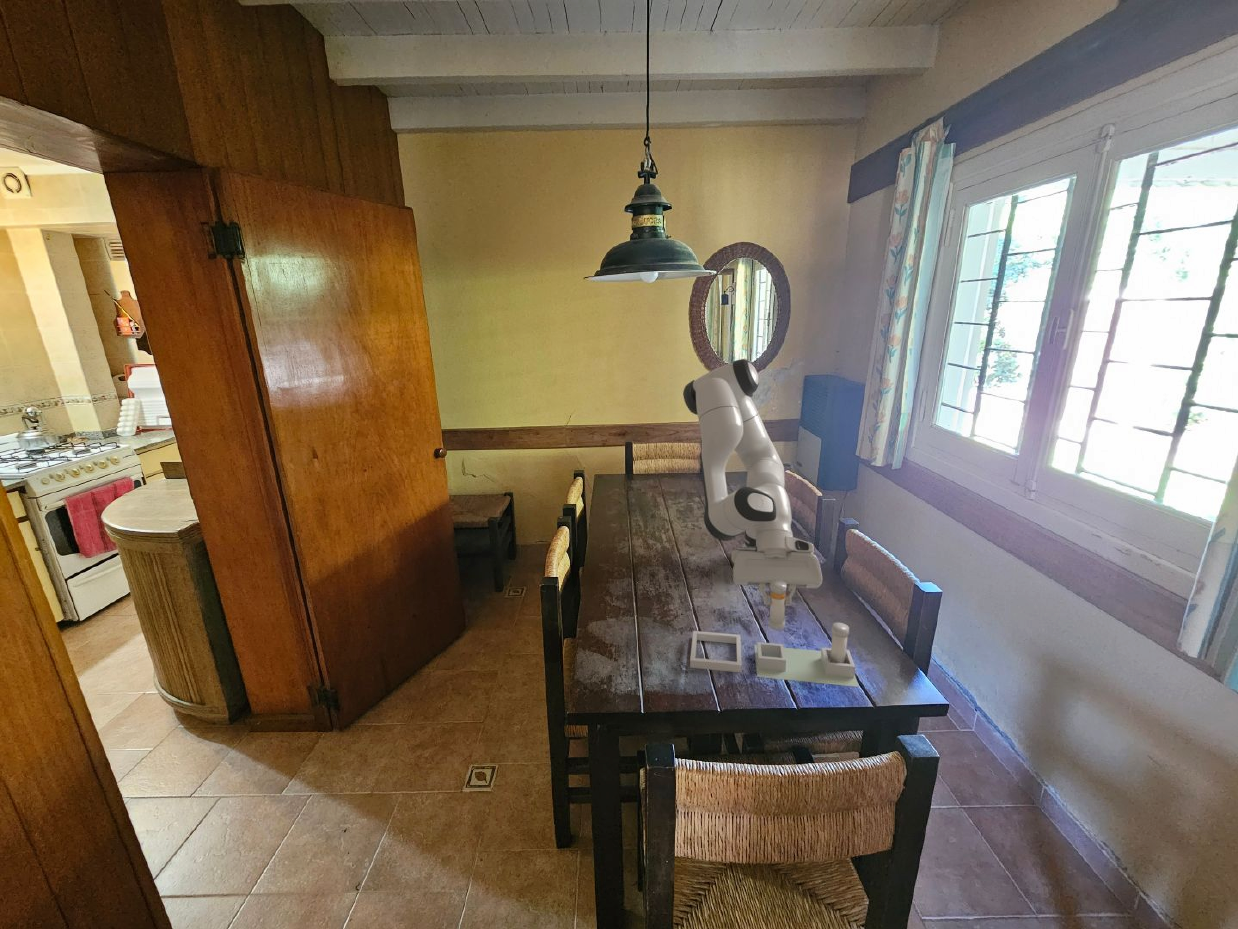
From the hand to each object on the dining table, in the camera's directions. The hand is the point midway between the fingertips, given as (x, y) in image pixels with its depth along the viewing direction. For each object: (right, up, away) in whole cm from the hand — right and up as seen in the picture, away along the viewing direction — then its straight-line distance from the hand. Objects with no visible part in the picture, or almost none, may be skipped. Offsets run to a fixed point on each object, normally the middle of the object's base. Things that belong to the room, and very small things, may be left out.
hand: (777, 604), depth 117 cm
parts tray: (-13, -16, +9) cm, 22 cm away
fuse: (+15, -16, +2) cm, 21 cm away
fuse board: (+7, -16, +4) cm, 18 cm away
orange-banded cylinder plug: (0, -6, +2) cm, 6 cm away
